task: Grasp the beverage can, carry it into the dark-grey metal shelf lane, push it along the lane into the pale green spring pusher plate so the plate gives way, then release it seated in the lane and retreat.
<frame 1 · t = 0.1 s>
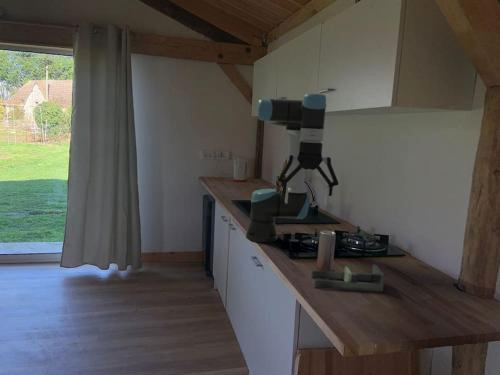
hand: (306, 204, 137), 28 cm above the worktop, fingers open, 13 cm apart
pusher: (350, 276, 141), point 3 cm above the worktop, slide at 0.0 cm
beverage can: (324, 270, 154), on the worktop
lane: (343, 283, 142), on the worktop
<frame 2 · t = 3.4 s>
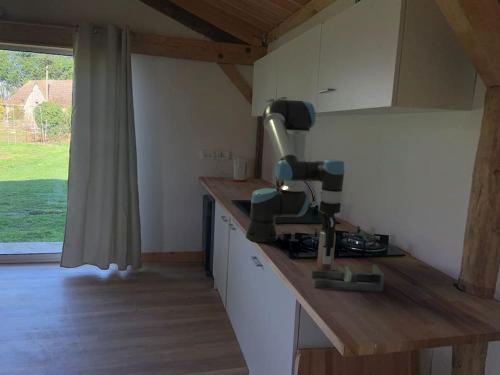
hand: (325, 260, 153), 4 cm above the worktop, fingers closed on beverage can, 6 cm apart
beverage can: (324, 270, 154), on the worktop, touching gripper
everything else where it was.
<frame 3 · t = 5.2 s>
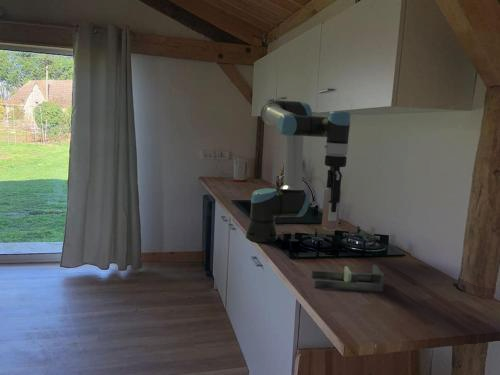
hand: (330, 218, 147), 21 cm above the worktop, fingers closed on beverage can, 6 cm apart
beverage can: (329, 229, 148), point 17 cm above the worktop, touching gripper
everything else where it was.
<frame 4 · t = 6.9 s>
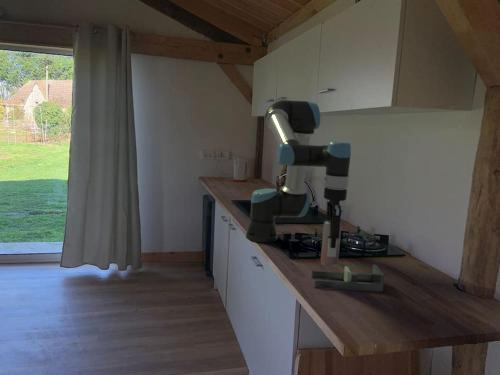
hand: (329, 253, 140), 11 cm above the worktop, fingers closed on beverage can, 6 cm apart
beverage can: (328, 264, 141), point 7 cm above the worktop, touching gripper
everything else where it was.
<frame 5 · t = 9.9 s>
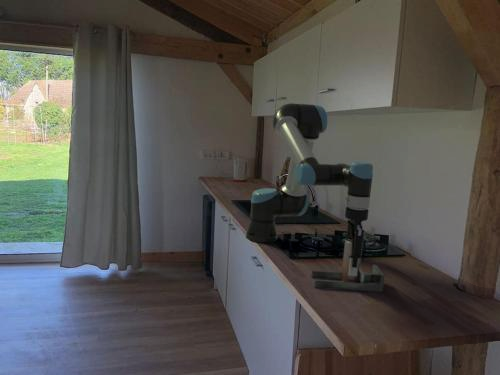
hand: (350, 271, 141), 5 cm above the worktop, fingers closed on beverage can, 6 cm apart
pusher: (363, 277, 141), point 3 cm above the worktop, slide at 4.4 cm, touching beverage can
beverage can: (349, 282, 142), point 1 cm above the worktop, touching gripper, pusher
when the fingers open (5 cm above the worktop, at t = 10.6 s): beverage can stays where it is, resting in lane.
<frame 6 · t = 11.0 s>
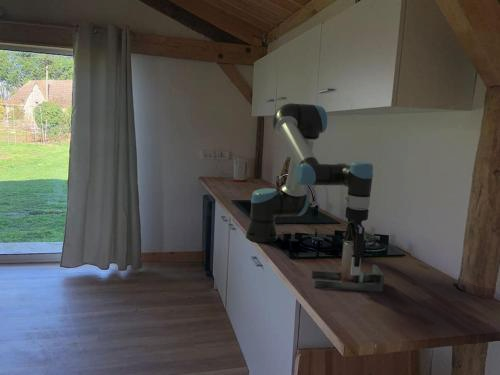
hand: (351, 268, 141), 6 cm above the worktop, fingers open, 11 cm apart
pusher: (362, 277, 141), point 3 cm above the worktop, slide at 4.0 cm
beverage can: (348, 284, 142), resting in lane
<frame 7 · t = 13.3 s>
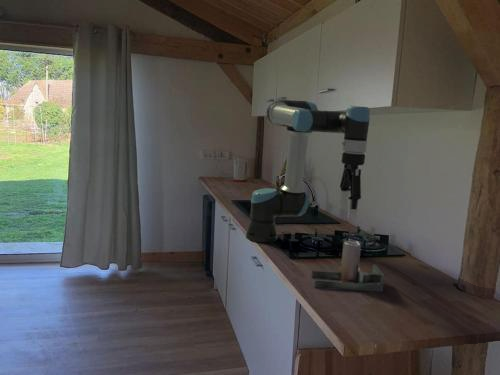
hand: (347, 213, 140), 25 cm above the worktop, fingers open, 13 cm apart
pusher: (362, 277, 141), point 3 cm above the worktop, slide at 4.0 cm, touching beverage can
beverage can: (347, 284, 142), resting in lane, touching pusher
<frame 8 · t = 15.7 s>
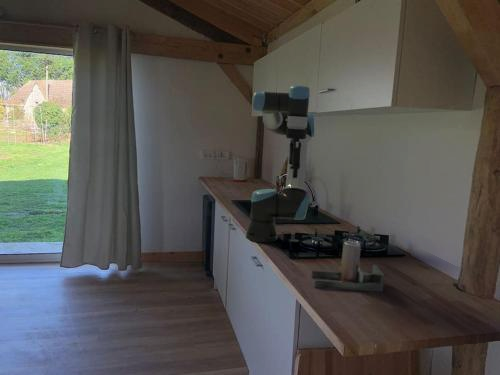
hand: (292, 183, 155), 32 cm above the worktop, fingers open, 13 cm apart
nothing on the worktop moved.
at the end: beverage can inside the target area (5.5 cm from its centre), resting in lane; beverage can tilted 0°; the gripper is holding nothing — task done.
